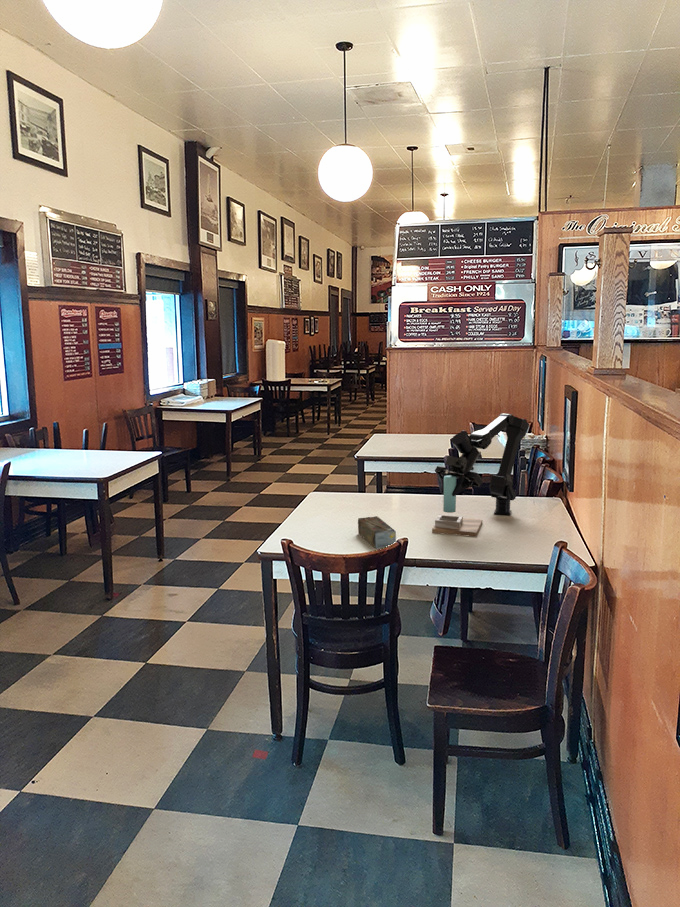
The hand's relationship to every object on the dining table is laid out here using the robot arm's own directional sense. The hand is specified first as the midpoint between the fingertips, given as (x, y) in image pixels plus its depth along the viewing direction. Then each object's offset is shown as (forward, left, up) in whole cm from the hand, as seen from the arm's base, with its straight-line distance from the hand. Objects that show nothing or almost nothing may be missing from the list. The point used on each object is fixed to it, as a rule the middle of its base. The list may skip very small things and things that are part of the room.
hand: (447, 494), depth 257 cm
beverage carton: (+20, -21, -14) cm, 33 cm away
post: (-1, +1, -7) cm, 7 cm away
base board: (-3, +4, -13) cm, 14 cm away
